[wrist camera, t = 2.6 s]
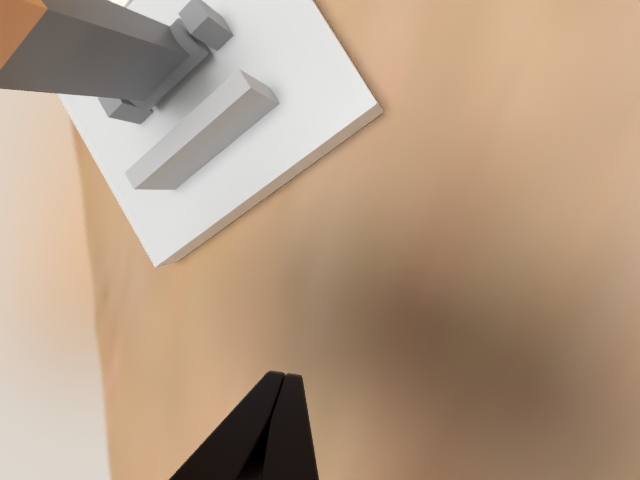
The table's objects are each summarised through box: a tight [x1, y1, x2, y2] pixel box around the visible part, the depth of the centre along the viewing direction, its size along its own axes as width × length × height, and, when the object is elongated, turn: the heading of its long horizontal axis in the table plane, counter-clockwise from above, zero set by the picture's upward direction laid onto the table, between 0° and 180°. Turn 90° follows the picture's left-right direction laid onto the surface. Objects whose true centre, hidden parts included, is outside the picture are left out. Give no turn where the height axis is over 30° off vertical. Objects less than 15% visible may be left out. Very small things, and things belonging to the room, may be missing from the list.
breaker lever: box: [0, 0, 209, 110], centre depth 15 cm, size 2×5×12 cm, turn 123°
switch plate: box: [57, 0, 384, 267], centre depth 20 cm, size 16×16×5 cm
